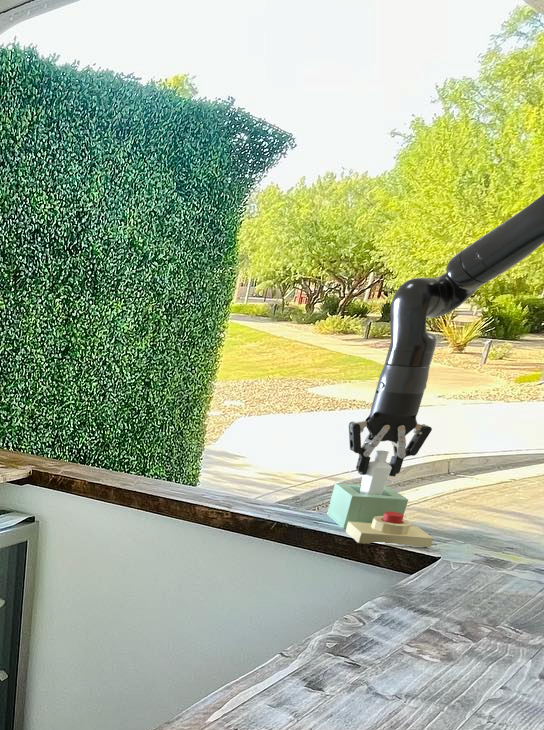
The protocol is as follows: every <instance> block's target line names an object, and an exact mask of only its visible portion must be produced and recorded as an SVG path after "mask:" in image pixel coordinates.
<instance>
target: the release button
mask: <svg viewBox="0 0 544 730" xmlns="http://www.w3.org/2000/svg"><path fill="white" fill-rule="evenodd" d="M404 516H405V514H404V515H403V514H401V513H397V512H385V514H384V517H383V521H385V522H389V523H394V524H401V523H402V520H403V519H404Z"/></svg>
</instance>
